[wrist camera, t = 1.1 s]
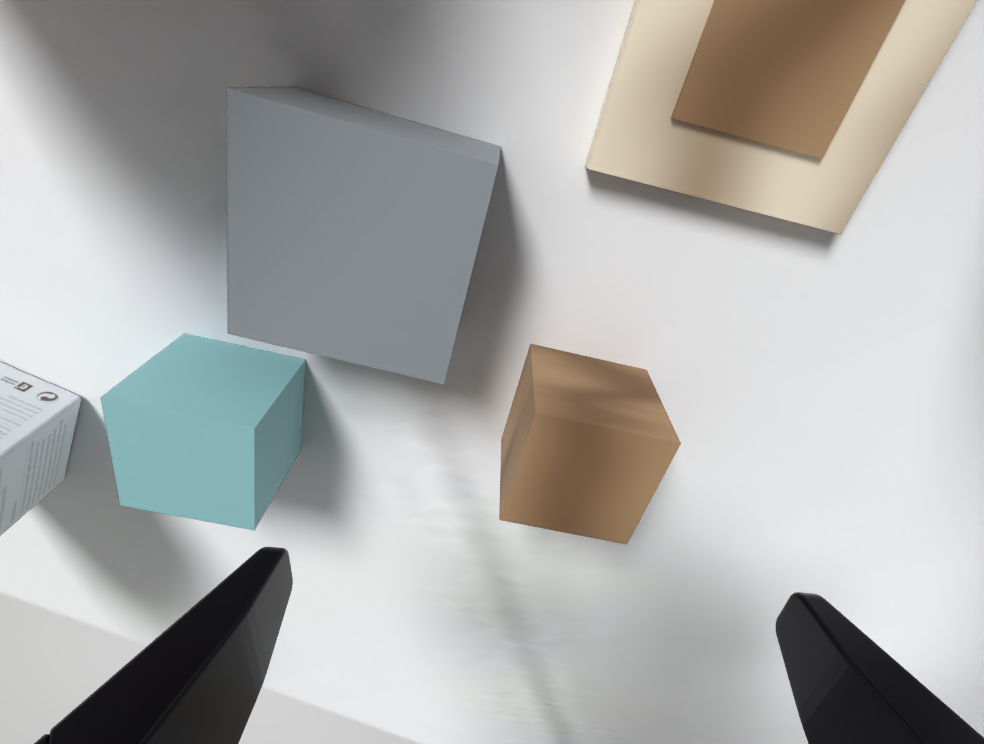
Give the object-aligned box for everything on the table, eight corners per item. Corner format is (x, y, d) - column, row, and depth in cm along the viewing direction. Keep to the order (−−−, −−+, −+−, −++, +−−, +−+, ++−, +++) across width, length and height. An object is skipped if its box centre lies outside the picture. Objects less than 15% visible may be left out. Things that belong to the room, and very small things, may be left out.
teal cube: (306, 358, 21) (254, 428, 17) (301, 449, 24) (254, 530, 20) (185, 332, 21) (100, 397, 17) (192, 427, 23) (120, 505, 19)
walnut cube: (646, 368, 21) (680, 443, 17) (605, 459, 24) (626, 544, 19) (530, 342, 21) (535, 412, 16) (501, 437, 23) (499, 519, 19)
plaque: (1015, -103, 13) (1049, -115, 13) (828, 228, 18) (844, 235, 17) (698, -208, 13) (712, -229, 12) (585, 165, 17) (589, 170, 16)
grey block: (501, 145, 17) (498, 164, 13) (456, 327, 21) (444, 384, 17) (293, 86, 16) (226, 87, 13) (282, 284, 20) (227, 333, 16)
